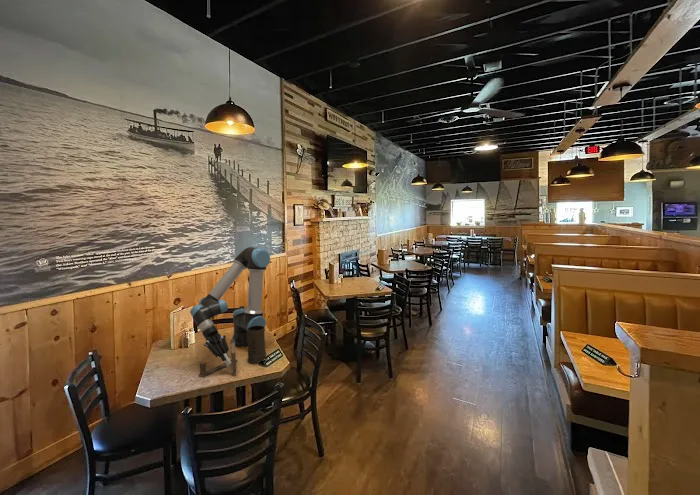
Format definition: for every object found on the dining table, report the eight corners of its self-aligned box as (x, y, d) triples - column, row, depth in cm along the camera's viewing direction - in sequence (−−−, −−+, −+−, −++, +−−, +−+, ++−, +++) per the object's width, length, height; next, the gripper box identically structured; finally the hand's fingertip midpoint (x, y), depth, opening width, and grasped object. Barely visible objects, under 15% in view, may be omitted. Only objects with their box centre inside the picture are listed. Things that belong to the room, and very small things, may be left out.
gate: (231, 361, 196) (230, 342, 195) (235, 360, 196) (234, 341, 195) (232, 373, 180) (231, 353, 179) (236, 373, 181) (235, 352, 179)
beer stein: (265, 363, 195) (264, 329, 194) (246, 365, 193) (245, 330, 192) (267, 354, 210) (266, 322, 209) (249, 355, 208) (249, 323, 208)
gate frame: (233, 360, 200) (232, 338, 199) (237, 361, 198) (236, 340, 197) (198, 376, 180) (197, 352, 179) (202, 377, 178) (201, 353, 177)
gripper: (215, 329, 197) (236, 363, 190) (195, 336, 185) (216, 373, 179) (221, 322, 193) (242, 356, 186) (200, 329, 182) (222, 365, 175)
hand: (229, 364), depth 182 cm, fingers closed
